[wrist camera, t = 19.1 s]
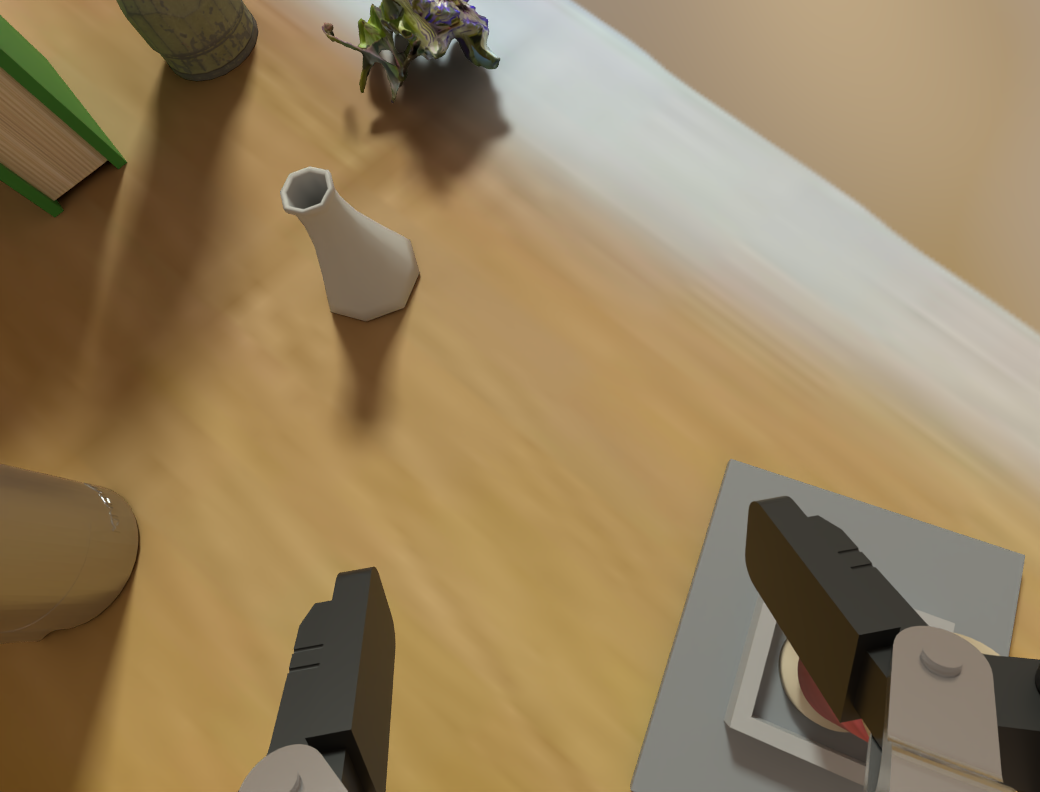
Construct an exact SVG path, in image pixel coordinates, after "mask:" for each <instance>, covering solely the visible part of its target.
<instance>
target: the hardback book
mask: <svg viewBox="0 0 1040 792" xmlns="http://www.w3.org/2000/svg"><path fill="white" fill-rule="evenodd" d="M106 161H109V162H111V163H112V164H113V165H114V166H115V167H116V168H117V169H119V168H121V167H122V166H123V165H125V164H126V163H127V162H126V160H125V159H124V158H123V156H122V155H121V154H120V153H119V151H118V150H117V149H116V147H115V146H114V145H113V144H112V142H111V141H110V140H109V138H108V137H107V136H106V135H105V133H104V132H103V131H102V130H101V128H100V127H99V126H98V124H97V123H96V122H95V121H94V119H93V118H92V117H91V115H90V114H89V113H88V112H87V110H86V109H85V108H84V106H83V105H82V104H81V103H80V101H79V100H78V99H77V98H76V96H75V95H74V94H73V92H72V91H71V90H70V89H69V87H68V86H67V85H66V83H65V82H64V81H63V80H62V78H61V77H60V76H59V74H58V73H57V72H56V71H55V69H54V68H53V67H52V66H51V64H50V63H49V62H48V60H47V59H46V58H45V57H44V56H43V55H42V54H41V53H40V52H39V51H37V50H36V49H35V48H34V47H33V46H32V45H31V44H30V43H29V42H28V41H27V40H26V39H25V38H24V37H23V36H22V35H21V34H20V33H19V32H18V31H16V30H15V29H14V28H13V27H12V26H11V25H10V24H9V23H8V22H7V21H6V20H5V19H4V18H3V17H2V16H1V15H0V180H1V181H2V182H4V183H5V184H7V185H8V186H10V187H11V188H12V189H14V190H15V191H17V192H18V193H20V194H21V195H23V196H24V197H26V198H27V199H28V200H30V201H31V202H33V203H34V204H36V205H37V206H39V207H40V208H42V209H43V210H45V211H46V212H47V213H49V214H50V215H52V216H53V217H56V216H58V215H59V214H60V213H61V212H63V211H64V210H63V208H62V207H61V205H60V204H59V203H58V201H57V200H56V199H57V198H59V197H60V196H61V195H63V194H64V193H65V192H67V191H68V190H69V189H71V188H72V187H73V186H75V185H76V184H77V183H78V182H80V181H81V180H82V179H84V178H85V177H86V176H88V175H89V174H90V173H92V172H93V171H94V170H96V169H97V168H98V167H100V166H101V165H102V164H104V163H105V162H106Z"/></svg>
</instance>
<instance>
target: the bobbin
mask: <svg viewBox="0 0 1040 792" xmlns="http://www.w3.org/2000/svg"><path fill="white" fill-rule="evenodd" d="M952 633H953V632H952ZM954 634H956V635H958V636H960V637H962V638H964V639H965V640H967V641H968V642H970V643H971V644H972V645H974V646H975V647H976V648H977V649H978V650H979V651H980V652H981V653H983V654H988V655H996V656H1000V655H999V654H998V653H996V652H995V651H994V650H992V649H991V648H989V647H988V646H986V645H984V644H983V643H981V642H979V641H977V640H974V639H972V638H970V637H967V636H964V635H961V634H957V633H954ZM778 668H779V676H780V680H781V684H782V686H783V689H784V691H785V693H786V695H787V697H788V698H789V700H790V701H791V703H792V704H793V705H794V706H795V707H796V708H797V710H799V711H800V712H801V713H802V714H803V715H804V716H806V717H807V718H809V719H810V720H812V721H813V722H815V723H817V724H819V725H820V726H822V727H825V728H827V729H830V730H834V731H838V732H850V733H852V734H854V735H855V736H857V737H859V738H861V739H863V740H864V741H866V742H868V741H869V736H870V731H869V729H868V728H867V726H866V725H865V723H864V722H863V720H862V719H858V720H853V721H847V722H842V723H840V722H839V721H838V719H837V717H836V716H835V714H834V713H833V711H832V709H831V708H830V706H829V705H828V703H827V701H826V700H825V698H824V697H823V695H822V693H821V692H820V690H819V689H818V687H817V686H816V684H815V682H814V681H813V679H812V678H811V676H810V674H809V673H808V671H807V670H806V668H805V666H804V665H803V663H802V662H801V660H800V658H799V657H798V655H797V654H796V652H795V650H794V649H793V647H792V646H791V644H790V642H789V641H788V639H787V638H786V640H785V642H784V643H783V645H782V648H781V651H780V655H779V662H778ZM1016 791H1017V790H1015V792H1016Z"/></svg>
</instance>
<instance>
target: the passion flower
mask: <svg viewBox="0 0 1040 792" xmlns="http://www.w3.org/2000/svg"><path fill="white" fill-rule="evenodd" d="M468 1H469V0H382V2H381V6H379V8H378V7H376V6H374V4H372V5H371V8H370V15H371V16H370V18H369V20H368V22H365V21H364V20H362V18H361V19H360V20H359V21H358V28H359V37H360V44H359V45H358V47H356V46H354V45H352V44H351V43H348V42H344V41H342V40H340V39H338V38H337V37H335V36H334V34H333V31H332V30H333V25H332V24H329V23H324V25H323V26H322V30H323V32H324V33H325V34H326V35H327V37H328V38H329V39H330V40H331V41H332V42H334V41H336V42H338V43H340V44H342V45H344V46H346V47H349V48H351V49H354V50H357V51H359V52H361V53H362V54H363V69H362V73H361V79H360V82H359V85H360V90H361V93H364V89H365V86H366V81H367V77H368V75H369V72H370V69H371V67H372V66H373V65H374V63H375V62H378V63H381V64H382V65H383V67H384V68H385V70H386V73H387V77H388V80H389V82H390V86H391V90H392V100H391V102H392V103H394V100H395V98H396V95H397V91H398V88H399V87H400V86H401V85H402V84H403V82H404V81H405V79H406V77H407V67H408V65H409V62H410V61H412V60H414V59H415V58H416V57H418V56H420V55H422V56H424V57H425V58H426V59H427V60H431V58H432V57H433V58H435V59H438V58H440V57H442V56H443V55H445V53H446V50H447V49H448V47H449V44H450V42H451V40H453V39H454V38H455V39H456V40H457V41H458V42H459V45H460V47H461V49H462V51H463V53H464V55H465V56H466V58H467V59H468V60H470V61H471V62H472V63H473V64H474V65H476V66H478V67H479V66H482V67H484V68H486V69H496V68H497V67H498V65H499V61H500V58H498V57H497V56H495V55H494V54H493V53H492V51H491V50H490V49H489V48H488V47H487V38H488V35H489V29H488V19H486V17H484V16H480V15H478V13H477V12H476V11H475V7H474V6H470V5H469V4H467V2H468ZM393 31H394V33H395V34H396V35H398V34H399V33H400V34H401V35H402V36H403V37H404V38H406V39H407V40H408V41H409V44H408V46H407V48H406V50H405V51H404V52H403V53H398V52H397V51H396V49H395V46H394V41H393ZM362 49H366V50H362ZM381 50H390V51H391V52H392V53H393V54H394V57H395V60H396V63H397V65H396V66H395V65H392V64H391V63H389V62H387V61H385V60H384V59H382V58H381V57H380V56H379V53H380V52H381ZM410 50H411V52H410V54H409V51H410ZM408 54H409V55H408ZM407 56H408V58H407Z"/></svg>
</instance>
